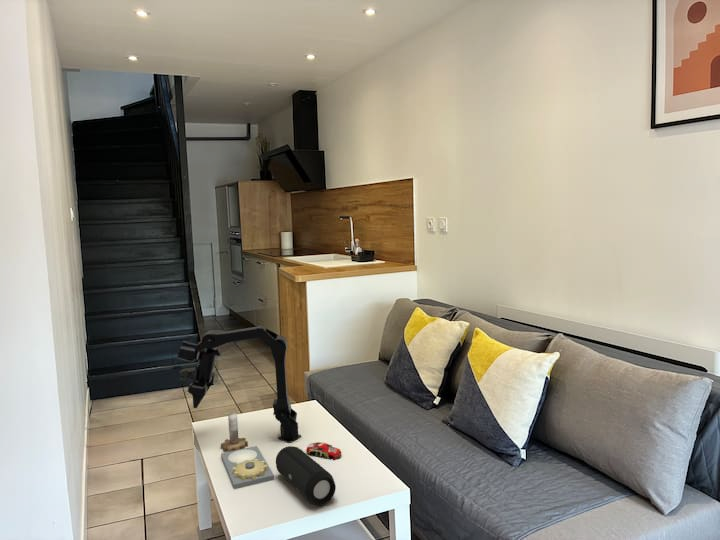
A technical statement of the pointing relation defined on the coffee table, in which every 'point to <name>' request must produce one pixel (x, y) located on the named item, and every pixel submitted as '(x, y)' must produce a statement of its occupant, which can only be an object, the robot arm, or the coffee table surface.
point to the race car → (323, 450)
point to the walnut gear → (233, 436)
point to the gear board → (248, 481)
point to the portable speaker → (305, 475)
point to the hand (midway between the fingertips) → (197, 403)
